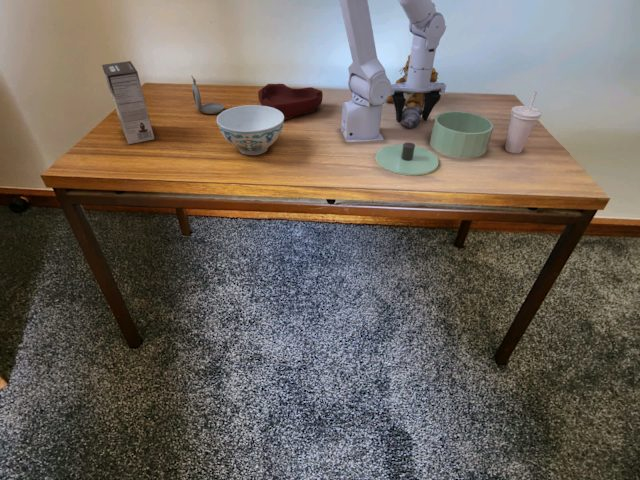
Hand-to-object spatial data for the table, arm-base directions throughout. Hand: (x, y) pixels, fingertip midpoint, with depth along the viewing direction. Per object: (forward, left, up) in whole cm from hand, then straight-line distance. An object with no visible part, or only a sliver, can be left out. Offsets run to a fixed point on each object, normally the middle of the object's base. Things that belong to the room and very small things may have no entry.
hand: (411, 120), depth 106 cm
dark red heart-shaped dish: (-32, +13, -2) cm, 35 cm away
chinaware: (-42, -9, -2) cm, 43 cm away
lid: (-8, -20, -1) cm, 22 cm away
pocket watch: (-54, +16, -2) cm, 56 cm away
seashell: (0, 0, -2) cm, 2 cm away
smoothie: (+20, -17, -2) cm, 26 cm away
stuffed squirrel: (+6, +17, -2) cm, 18 cm away
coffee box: (-70, +2, -2) cm, 70 cm away
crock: (+7, -14, -1) cm, 16 cm away
